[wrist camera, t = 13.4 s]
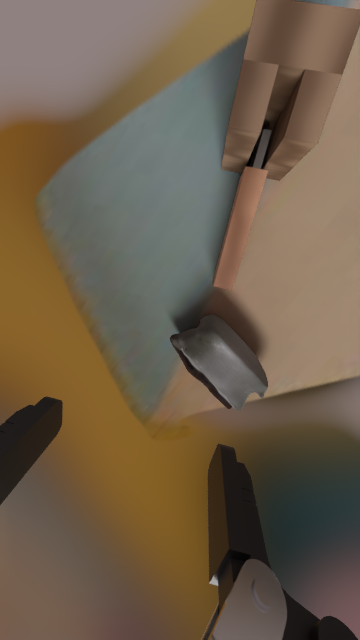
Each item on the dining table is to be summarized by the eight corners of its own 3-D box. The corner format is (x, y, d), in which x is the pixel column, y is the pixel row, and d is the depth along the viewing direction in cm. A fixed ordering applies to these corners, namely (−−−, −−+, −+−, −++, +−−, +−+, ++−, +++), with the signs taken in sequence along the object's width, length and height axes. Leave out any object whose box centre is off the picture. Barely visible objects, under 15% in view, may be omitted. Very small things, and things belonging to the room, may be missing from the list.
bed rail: (268, 151, 29) (279, 132, 24) (228, 285, 36) (232, 290, 31) (247, 147, 29) (255, 127, 24) (212, 281, 36) (213, 286, 31)
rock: (165, 337, 41) (156, 355, 33) (207, 301, 37) (207, 313, 30) (224, 395, 44) (227, 424, 36) (267, 366, 40) (281, 392, 33)
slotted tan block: (304, 103, 27) (364, 10, 16) (279, 180, 30) (317, 142, 20) (238, 92, 27) (257, -5, 17) (221, 169, 30) (228, 126, 20)
